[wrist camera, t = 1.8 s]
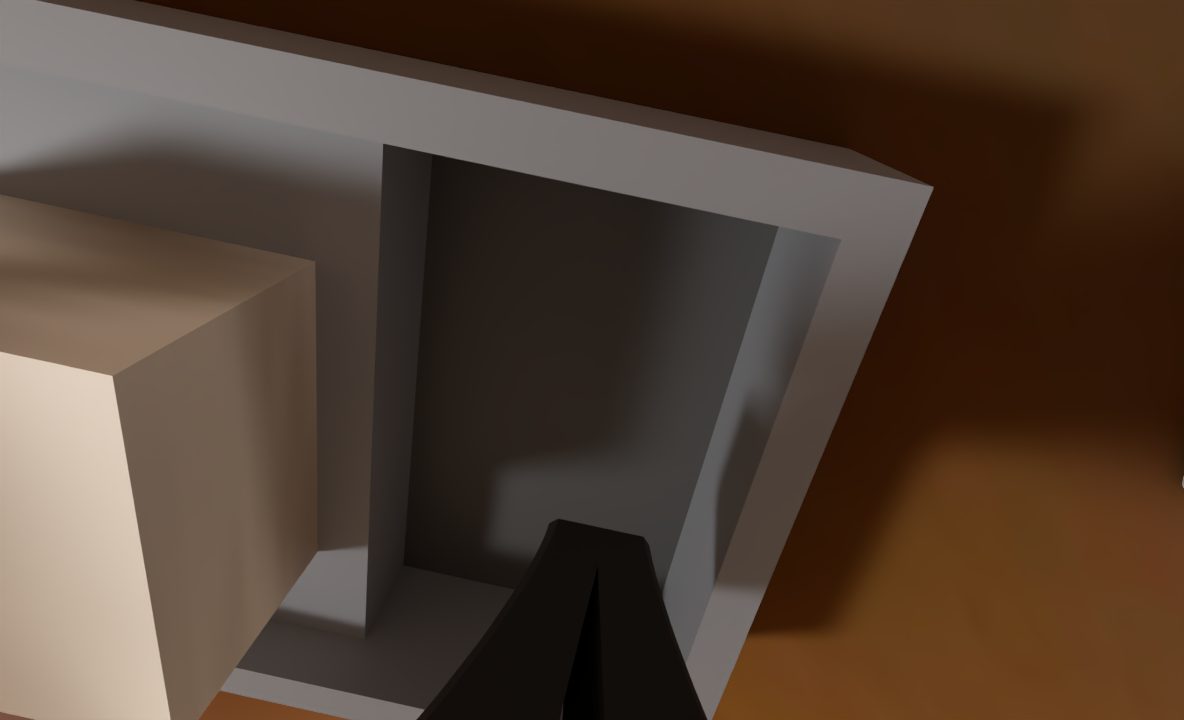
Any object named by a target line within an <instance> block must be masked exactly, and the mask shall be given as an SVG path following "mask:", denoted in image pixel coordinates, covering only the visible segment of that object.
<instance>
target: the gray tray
mask: <svg viewBox="0 0 1184 720" xmlns="http://www.w3.org/2000/svg"><path fill="white" fill-rule="evenodd" d="M933 188H934V187H933V186H931V185H928V184H926V183H924V182H922V181H920V180H917V179H915V178H913V177H911V176H909V175H906V174H904V173H902V172H900V171H897V170H895V169H893V168H891V167H889V166H886V165H884V164H882V163H880V162H878V161H875V160H873V159H871V158H869V157H867V156H864V155H862V154H860V153H858V152H856V151H853V150H851V149H849V148H844V147H839V146H834V145H829V144H824V143H820V142H815V141H810V140H805V139H800V138H796V137H791V136H786V135H781V134H776V133H771V132H767V131H762V130H757V129H752V128H747V127H743V126H738V125H733V124H728V123H723V122H718V121H714V120H709V119H704V118H699V117H694V116H690V115H685V114H680V113H675V112H670V111H665V110H661V109H656V108H651V107H646V106H641V105H637V104H632V103H627V102H622V101H617V100H612V99H608V98H603V97H598V96H593V95H588V94H584V93H579V92H574V91H569V90H564V89H559V88H555V87H550V86H545V85H540V84H535V83H531V82H526V81H521V80H516V79H511V78H506V77H502V76H497V75H492V74H487V73H482V72H477V71H473V70H468V69H463V68H458V67H453V66H449V65H444V64H439V63H434V62H429V61H424V60H420V59H415V58H410V57H405V56H400V55H396V54H391V53H386V52H381V51H376V50H371V49H367V48H362V47H357V46H352V45H347V44H343V43H338V42H333V41H328V40H323V39H318V38H314V37H309V36H304V35H299V34H294V33H290V32H285V31H280V30H275V29H270V28H265V27H261V26H256V25H251V24H246V23H241V22H237V21H232V20H227V19H222V18H217V17H212V16H208V15H203V14H198V13H193V12H188V11H184V10H179V9H174V8H169V7H164V6H159V5H155V4H150V3H145V2H140V1H135V0H0V194H1V195H6V196H10V197H15V198H20V199H24V200H29V201H34V202H38V203H43V204H48V205H53V206H57V207H62V208H67V209H71V210H76V211H81V212H86V213H90V214H95V215H100V216H104V217H109V218H114V219H118V220H123V221H128V222H133V223H137V224H142V225H147V226H151V227H156V228H161V229H166V230H170V231H175V232H180V233H184V234H189V235H194V236H198V237H203V238H208V239H213V240H217V241H222V242H227V243H231V244H236V245H241V246H246V247H250V248H255V249H260V250H264V251H269V252H274V253H278V254H283V255H288V256H293V257H297V258H302V259H307V260H311V261H315V277H316V393H317V509H318V552H317V553H316V555H315V556H314V558H313V559H312V560H311V562H310V563H309V565H308V566H307V567H306V569H305V570H304V572H303V573H302V575H301V576H300V577H299V579H298V580H297V582H296V583H295V584H294V586H293V587H292V589H291V590H290V591H289V593H288V594H287V596H286V597H285V598H284V600H283V601H282V603H281V604H280V605H279V607H278V608H277V610H276V611H275V613H274V614H273V615H272V617H271V618H270V620H269V621H268V622H267V624H266V625H265V627H264V628H263V629H262V631H261V632H260V634H259V635H258V636H257V638H256V639H255V641H254V642H253V643H252V645H251V646H250V648H249V649H248V651H247V652H246V653H245V655H244V656H243V658H242V659H241V660H240V662H239V663H238V665H237V666H236V667H235V669H234V670H233V672H232V673H231V674H230V676H229V677H228V679H227V680H226V681H225V683H224V684H223V686H222V687H221V689H220V690H221V691H225V692H229V693H234V694H238V695H243V696H247V697H252V698H256V699H261V700H265V701H270V702H274V703H279V704H283V705H288V706H292V707H297V708H301V709H306V710H310V711H315V712H319V713H324V714H328V715H333V716H337V717H342V718H346V719H351V720H417V718H418V717H419V716H420V715H421V714H422V713H423V711H424V710H425V709H426V708H427V707H428V705H429V704H430V703H431V702H432V701H433V700H434V698H435V697H436V696H437V695H438V694H439V692H440V691H441V690H442V689H443V687H444V686H445V685H446V684H447V682H448V681H449V680H450V678H451V677H452V676H453V675H454V673H455V672H456V671H457V669H458V668H459V667H460V666H461V664H462V663H463V662H464V660H465V659H466V658H467V657H468V655H469V654H470V653H471V651H472V650H473V649H474V648H475V646H476V645H477V644H478V642H479V641H480V640H481V638H482V637H483V636H484V634H485V633H486V631H487V630H488V629H489V627H490V626H491V624H492V623H493V621H494V620H495V618H496V617H497V615H498V614H499V613H500V611H501V610H502V608H503V607H504V605H505V604H506V602H507V601H508V599H509V598H510V596H511V595H512V593H513V592H514V590H515V589H516V587H517V586H518V584H519V582H520V581H521V579H522V577H523V576H524V574H525V572H526V571H527V569H528V567H529V566H530V564H531V562H532V560H533V559H534V557H535V555H536V553H537V551H538V549H539V547H540V545H541V543H542V541H543V538H544V536H545V534H546V531H547V528H548V525H549V523H550V522H552V521H554V520H556V519H558V518H559V519H563V520H568V521H573V522H577V523H582V524H587V525H591V526H596V527H601V528H605V529H610V530H615V531H619V532H624V533H629V534H634V535H638V536H643V537H644V538H645V540H646V541H647V542H648V544H649V546H650V552H651V556H652V561H653V565H654V569H655V573H656V576H657V580H658V584H659V587H660V590H661V594H662V597H663V600H664V604H665V607H666V610H667V613H668V616H669V619H670V622H671V625H672V628H673V631H674V634H675V637H676V640H677V643H678V645H679V648H680V651H681V653H682V656H683V659H684V661H685V664H686V667H687V669H688V672H689V674H690V677H691V680H692V682H693V685H694V688H695V690H696V693H697V695H698V698H699V700H700V702H701V705H702V707H703V710H704V712H705V715H706V717H707V719H708V720H712V718H713V716H714V713H715V711H716V709H717V706H718V704H719V701H720V699H721V697H722V694H723V692H724V689H725V687H726V685H727V682H728V680H729V677H730V675H731V673H732V670H733V668H734V665H735V663H736V661H737V658H738V656H739V653H740V651H741V649H742V646H743V644H744V641H745V639H746V637H747V634H748V632H749V629H750V627H751V625H752V622H753V620H754V617H755V615H756V613H757V610H758V608H759V605H760V603H761V601H762V598H763V596H764V593H765V591H766V589H767V586H768V584H769V581H770V579H771V577H772V574H773V572H774V569H775V567H776V565H777V562H778V560H779V557H780V555H781V553H782V550H783V548H784V545H785V543H786V541H787V538H788V536H789V533H790V531H791V529H792V526H793V524H794V521H795V519H796V517H797V514H798V512H799V509H800V507H801V505H802V502H803V500H804V497H805V495H806V493H807V490H808V488H809V485H810V483H811V481H812V478H813V476H814V473H815V471H816V469H817V466H818V464H819V461H820V459H821V457H822V454H823V452H824V449H825V447H826V445H827V442H828V440H829V438H830V435H831V433H832V430H833V428H834V426H835V423H836V421H837V418H838V416H839V414H840V411H841V409H842V406H843V404H844V402H845V399H846V397H847V394H848V392H849V390H850V387H851V385H852V382H853V380H854V378H855V375H856V373H857V370H858V368H859V366H860V363H861V361H862V358H863V356H864V354H865V351H866V349H867V346H868V344H869V342H870V339H871V337H872V334H873V332H874V330H875V327H876V325H877V322H878V320H879V318H880V315H881V313H882V310H883V308H884V306H885V303H886V301H887V298H888V296H889V294H890V291H891V289H892V286H893V284H894V282H895V279H896V277H897V274H898V272H899V270H900V267H901V265H902V262H903V260H904V258H905V255H906V253H907V250H908V248H909V246H910V243H911V241H912V238H913V236H914V234H915V231H916V229H917V226H918V224H919V222H920V219H921V217H922V214H923V212H924V210H925V207H926V205H927V202H928V200H929V198H930V195H931V193H932V190H933ZM562 715H563V707H562V712H561V717H560V720H562Z"/></svg>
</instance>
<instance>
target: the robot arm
mask: <svg viewBox="0 0 1184 720" xmlns="http://www.w3.org/2000/svg"><path fill="white" fill-rule="evenodd" d="M1182 486H1183V488H1184V477H1183V482H1182ZM562 707H563V715H562V720H708V719H707V717H706V715H705V712H704V710H703V707H702V705H701V702H700V700H699V698H698V695H697V693H696V690H695V688H694V685H693V682H692V680H691V677H690V674H689V672H688V669H687V667H686V664H685V661H684V659H683V656H682V653H681V651H680V648H679V645H678V643H677V640H676V637H675V634H674V631H673V628H672V625H671V622H670V619H669V616H668V613H667V610H666V607H665V604H664V600H663V597H662V594H661V590H660V587H659V584H658V580H657V576H656V573H655V569H654V565H653V561H652V556H651V552H650V546H649V544H648V542H647V541H646V540H645V538H644V537H643V536H638V535H634V534H629V533H624V532H619V531H615V530H610V529H605V528H601V527H596V526H591V525H587V524H582V523H577V522H573V521H568V520H563V519H559V518H558V519H556V520H554V521H552V522H550V523H549V525H548V528H547V531H546V534H545V536H544V538H543V541H542V543H541V545H540V547H539V549H538V551H537V553H536V555H535V557H534V559H533V560H532V562H531V564H530V566H529V567H528V569H527V571H526V572H525V574H524V576H523V577H522V579H521V581H520V582H519V584H518V586H517V587H516V589H515V590H514V592H513V593H512V595H511V596H510V598H509V599H508V601H507V602H506V604H505V605H504V607H503V608H502V610H501V611H500V613H499V614H498V615H497V617H496V618H495V620H494V621H493V623H492V624H491V626H490V627H489V629H488V630H487V631H486V633H485V634H484V636H483V637H482V638H481V640H480V641H479V642H478V644H477V645H476V646H475V648H474V649H473V650H472V651H471V653H470V654H469V655H468V657H467V658H466V659H465V660H464V662H463V663H462V664H461V666H460V667H459V668H458V669H457V671H456V672H455V673H454V675H453V676H452V677H451V678H450V680H449V681H448V682H447V684H446V685H445V686H444V687H443V689H442V690H441V691H440V692H439V694H438V695H437V696H436V697H435V698H434V700H433V701H432V702H431V703H430V704H429V705H428V707H427V708H426V709H425V710H424V711H423V713H422V714H421V715H420V716H419V717H418V718H417V720H560V717H561V712H562Z"/></svg>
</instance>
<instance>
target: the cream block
mask: <svg viewBox="0 0 1184 720" xmlns="http://www.w3.org/2000/svg"><path fill="white" fill-rule="evenodd" d="M317 552H318V509H317V393H316V277H315V261H311V260H307V259H302V258H297V257H293V256H288V255H283V254H278V253H274V252H269V251H264V250H260V249H255V248H250V247H246V246H241V245H236V244H231V243H227V242H222V241H217V240H213V239H208V238H203V237H198V236H194V235H189V234H184V233H180V232H175V231H170V230H166V229H161V228H156V227H151V226H147V225H142V224H137V223H133V222H128V221H123V220H118V219H114V218H109V217H104V216H100V215H95V214H90V213H86V212H81V211H76V210H71V209H67V208H62V207H57V206H53V205H48V204H43V203H38V202H34V201H29V200H24V199H20V198H15V197H10V196H6V195H1V194H0V712H4V713H8V714H13V715H17V716H22V717H26V718H31V719H35V720H198V719H199V718H200V717H201V715H202V714H203V712H204V711H205V709H206V708H207V707H208V705H209V704H210V703H211V701H212V700H213V698H214V697H215V696H216V694H217V693H218V691H219V690H220V689H221V687H222V686H223V684H224V683H225V681H226V680H227V679H228V677H229V676H230V674H231V673H232V672H233V670H234V669H235V667H236V666H237V665H238V663H239V662H240V660H241V659H242V658H243V656H244V655H245V653H246V652H247V651H248V649H249V648H250V646H251V645H252V643H253V642H254V641H255V639H256V638H257V636H258V635H259V634H260V632H261V631H262V629H263V628H264V627H265V625H266V624H267V622H268V621H269V620H270V618H271V617H272V615H273V614H274V613H275V611H276V610H277V608H278V607H279V605H280V604H281V603H282V601H283V600H284V598H285V597H286V596H287V594H288V593H289V591H290V590H291V589H292V587H293V586H294V584H295V583H296V582H297V580H298V579H299V577H300V576H301V575H302V573H303V572H304V570H305V569H306V567H307V566H308V565H309V563H310V562H311V560H312V559H313V558H314V556H315V555H316V553H317Z"/></svg>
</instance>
